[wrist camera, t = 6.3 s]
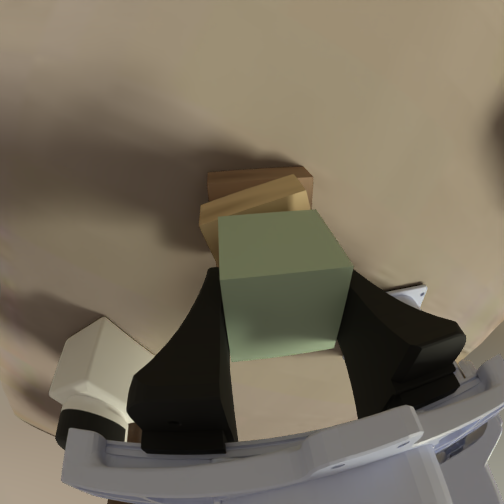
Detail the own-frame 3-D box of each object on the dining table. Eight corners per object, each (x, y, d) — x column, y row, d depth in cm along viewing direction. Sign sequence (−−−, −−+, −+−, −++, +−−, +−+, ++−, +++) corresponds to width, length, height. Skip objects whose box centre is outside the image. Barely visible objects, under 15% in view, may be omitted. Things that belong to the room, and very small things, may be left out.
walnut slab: (298, 242, 21) (307, 262, 19) (216, 250, 21) (217, 271, 19) (301, 164, 18) (313, 177, 16) (207, 170, 18) (206, 184, 16)
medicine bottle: (65, 338, 24) (35, 441, 14) (104, 313, 23) (72, 439, 13) (115, 374, 28) (100, 471, 18) (158, 356, 26) (150, 470, 16)
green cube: (309, 284, 16) (333, 348, 12) (226, 293, 15) (231, 362, 12) (315, 209, 13) (353, 266, 9) (217, 216, 13) (219, 280, 9)
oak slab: (312, 250, 19) (324, 273, 17) (233, 276, 19) (235, 302, 17) (293, 173, 16) (306, 190, 14) (200, 205, 16) (198, 226, 14)
